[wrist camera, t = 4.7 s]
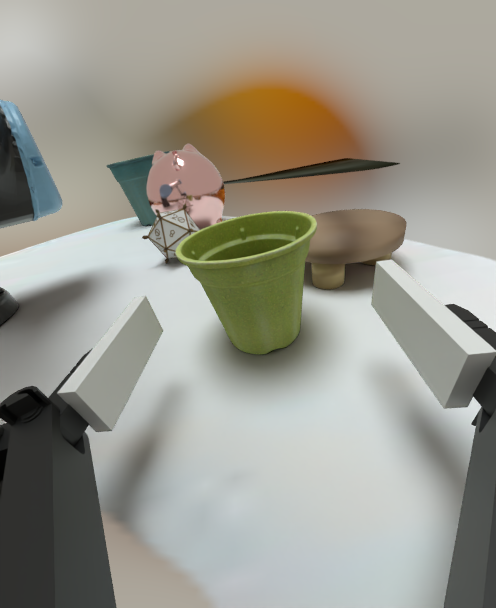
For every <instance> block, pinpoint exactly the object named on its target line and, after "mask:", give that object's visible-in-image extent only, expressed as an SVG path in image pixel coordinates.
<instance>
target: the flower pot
mask: <svg viewBox="0 0 496 608" xmlns="http://www.w3.org/2000/svg"><path fill="white" fill-rule="evenodd" d="M164 153H165V154H167V153H169V151H167V152H164ZM153 156H154V154H153V155H148V156H143V157H139V158H135V159H131V160H126V161H122V162H117V163H113V164H110V165H107V167H108V168H110V170H111V171H112V173H113V175H114V177H115V179H116V180H117V182H119V184H120V185H121V187H122V189H123V191H124V192H125V194H126V196H127V198H128V200H129V201H130V203H131V205H132V207H133V209H134V211H135V213H136V215H137V217H138V218H139V220H140V222H141V224H142V225H144V226H147V225H149V224H150V225H153V224H154V222H155V220H156V217H157V216H156V215H155V213H154V212H153V210H152V208H151V206H150V204H149V201H148V198H147V193H146V181H147V176H148V172H149V170H150V168H151V165H152V161H153Z"/></svg>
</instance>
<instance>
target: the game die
mask: <svg viewBox="0 0 496 608" xmlns="http://www.w3.org/2000/svg"><path fill="white" fill-rule="evenodd" d="M186 207H187V206H186V203H185V204H184V205H183V209H178V210H173V211H167V212H161V213H160V212H159V210H157V209H155V210H156V213H157V217H156V220H155V222H154V224H153V226H152V228H151V230H150V232H149V235H148V236H143V237H142V238H143V239H147V238H149V239H150V241H151V242H152V243H153V244H154V245H155V246H156V247H157V248H158V249H159V250H160V251H161V252H162V253H163V255H164V256H165V257H166V260H165V261H166V263H167V262H168V261H169V259H170V258H177V256H176V253H175V252H176V248H177V246H178V245H179V244H180V243H181V241H183V240H184V239H185V238H186V237H188V236H190V235H192V234H193V233H195V232H197V231H199V230H200V229H199V228H198V226H197V225H196V224H195V222H194V221H193V220H192V218H191V217H190V216H189V214H188V213H187V212H186V210H185V209H186Z"/></svg>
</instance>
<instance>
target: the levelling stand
mask: <svg viewBox="0 0 496 608" xmlns="http://www.w3.org/2000/svg"><path fill="white" fill-rule="evenodd" d="M312 217H314V218H315V220H316V222H317V230H316V233H315V234H314V236H313V237H312V238H311V239H310V246H309V252H308V255H307V257H306V258H305V262H310V263H311V264H312V283H313V285H314V286H315V287H317V288H320V289H335V288H338V287H340V286H342V285H343V284H344V277H345V264H349V263H357V262H361V263H363V264H367V265H376V262H378V261H384V260H391V254H392V252H393V251H395V250H396V249H398V248H399V247H400V246H401V245H402V243H403V241H404V235H405V230H406V221H405V219H404V218H402V217H401V216H399V215H397V214H394V213H390V212H386V211H380V210H369V209H356V210H355V209H352V210H340V211H332V212H326V213H321V214H316V215H312Z"/></svg>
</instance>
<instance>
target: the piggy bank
mask: <svg viewBox="0 0 496 608" xmlns="http://www.w3.org/2000/svg"><path fill="white" fill-rule="evenodd" d="M146 193H147V198H148V201H149V204H150V206H151V208H152V210H153V212H154V213H155V215H156V216H157V213H156V210H155V209H157V210H159V212H160V213H161V212H167V211H173V210H178V209H183V205H184V204H185V203H186V206H187V207H186V209H185V210H186V212H187V213H188V214H189V216H190V217H191V218H192V220H193V221H194V222H195V224H196V225H197V226H198V228H199V229H200V230H201V229H204V228H206V227H209V226H211V225H214V224H216V223H219V222H222V212H223V208H224V203H225V189H224V184H223V180H222V178H221V175H220V173H219V172H218V170H217V169H216V167H215V166H214V165H213V164H212V163H211V161H210V160H208V159H207V158H206V157H204V156H203V155H202V154H201V153H199V152H198V150H196V149H195V148H194V147H193V146H192V145H191V144H186V145H185V146H184V148H183V150H177V151H172V152H169V153H167V154H165V153H164V152H162V151H160V150H157V151H156V152H155V154H154V156H153V161H152V165H151V168H150V170H149V172H148V176H147V181H146Z"/></svg>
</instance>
